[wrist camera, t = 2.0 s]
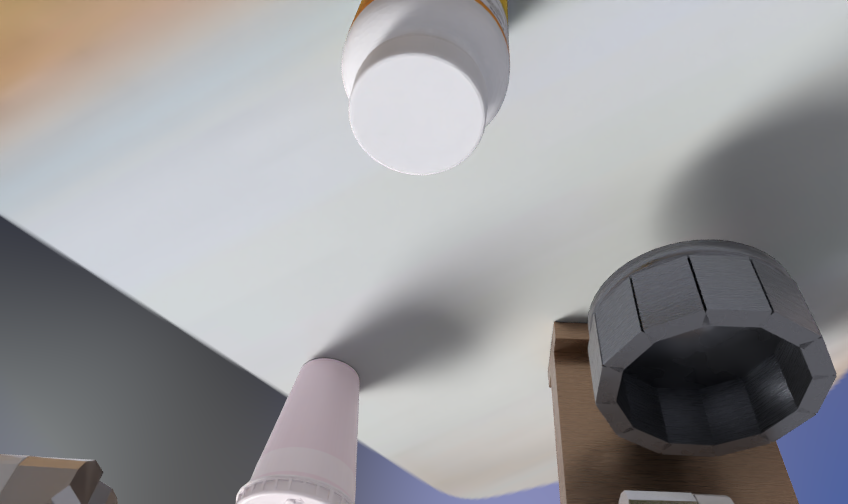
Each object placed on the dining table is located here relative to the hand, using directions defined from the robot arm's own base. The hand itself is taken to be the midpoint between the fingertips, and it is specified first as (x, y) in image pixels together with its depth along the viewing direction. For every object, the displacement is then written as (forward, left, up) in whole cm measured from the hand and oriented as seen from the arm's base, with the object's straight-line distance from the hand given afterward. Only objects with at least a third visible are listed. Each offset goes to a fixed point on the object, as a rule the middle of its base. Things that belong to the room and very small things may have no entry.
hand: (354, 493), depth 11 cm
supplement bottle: (0, 0, -22) cm, 22 cm away
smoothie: (+23, -7, -22) cm, 32 cm away
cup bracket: (+14, +11, -21) cm, 28 cm away
